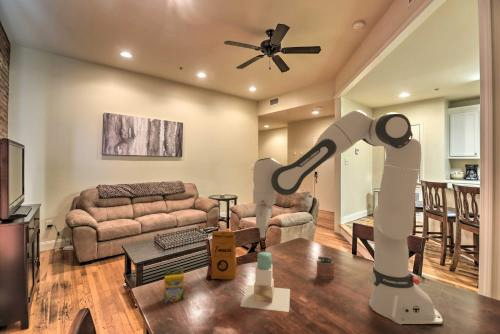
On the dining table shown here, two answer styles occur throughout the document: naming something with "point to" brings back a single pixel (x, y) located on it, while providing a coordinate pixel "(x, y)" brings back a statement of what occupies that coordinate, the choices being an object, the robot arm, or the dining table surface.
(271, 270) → the white block
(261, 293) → the maple block
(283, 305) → the white flat board
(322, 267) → the lighter
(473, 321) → the dining table surface
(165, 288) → the crayon box
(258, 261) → the teal rounded cube
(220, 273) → the coffee package
